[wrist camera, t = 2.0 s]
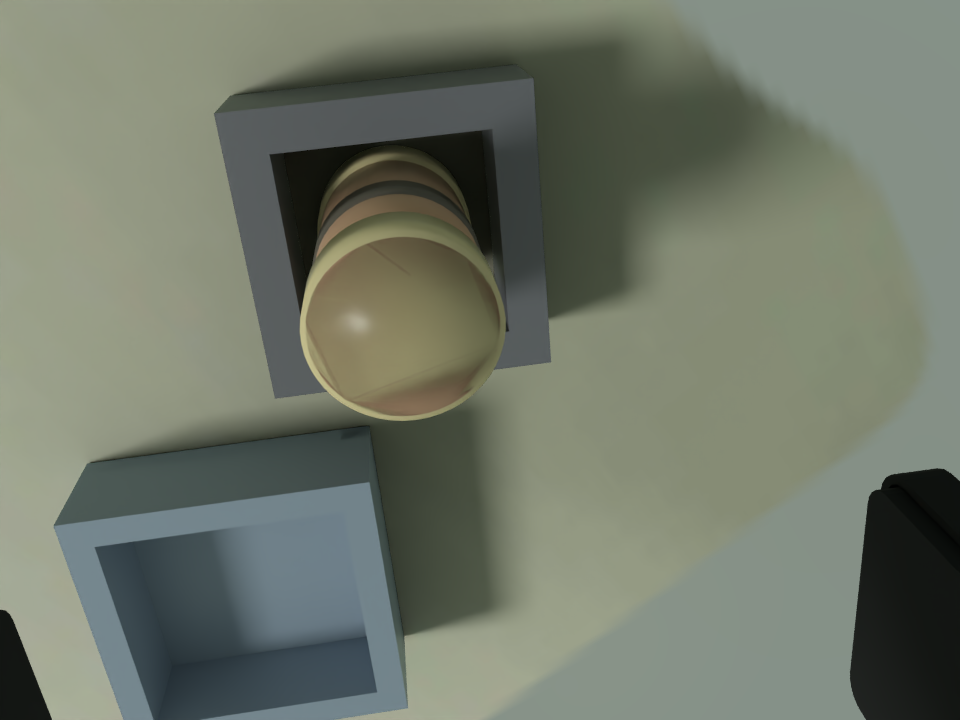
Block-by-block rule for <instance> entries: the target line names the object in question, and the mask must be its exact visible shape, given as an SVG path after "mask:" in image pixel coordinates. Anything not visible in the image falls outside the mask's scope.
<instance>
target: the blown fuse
mask: <svg viewBox="0 0 960 720" xmlns="http://www.w3.org/2000/svg"><path fill="white" fill-rule="evenodd" d="M317 235H318V237H317V241H316V246H315V252H314V258H313V264H312V268H311V270H310V273H309V276H308V279H307V283H306V288H305V294H304V299H303V305H302V311H301V316H300V337H301V345H302V348H303V352H304V356H305V358H306V360H307V363H308V365H309V367H310V369H311V371H312V372H313V374H314V376H315V377H316V379H317V380H318V381H319V383H320V384H321V385H322V386H323V387H324V388H325V389H326V390H327V391H328V392H329V393H330V394H331V395H332V396H333V397H334V398H336V399H337V400H338V401H340V402H341V403H342V404H344V405H346V406H348V407H349V408H351V409H353V410H355V411H357V412H360V413H362V414H365V415H368V416H371V417H375V418H379V419H385V420H395V421H408V420H418V419H424V418H429V417H432V416H435V415H438V414H441V413H444V412H446V411H448V410H450V409H453V408H454V407H456V406H458V405H459V404H461V403H463V402H464V401H465V400H467V399H468V398H469V397H471V396H472V395H473V394H474V393H475V392H476V391H477V390H478V389H479V388H480V387H481V386H482V385H483V384H484V383H485V381H486V380H487V379H488V378H489V376H490V375H491V373H492V371H493V370H494V368H495V366H496V364H497V362H498V360H499V357H500V355H501V352H502V348H503V345H504V340H505V332H506V317H505V311H504V305H503V302H502V298H501V295H500V292H499V290H498V287H497V284H496V282H495V279H494V276H493V274H492V271H491V269H490V267H489V264H488V262H487V260H486V258H485V257H484V255H483V254H482V252H481V249H480V246H479V243H478V241H477V238H476V235H475V232H474V230H473V228H472V226H471V221H470V215H469V212H468V208H467V205H466V202H465V200H464V197H463V195H462V192H461V190H460V188H459V185H458V183H457V182H456V180H455V178H454V177H453V175H452V174H451V173H450V172H449V171H448V169H447V168H446V167H445V166H444V165H443V164H441V163H440V162H439V161H438V160H436V159H435V158H434V157H432V156H431V155H429V154H427V153H425V152H423V151H420V150H417V149H415V148H411V147H407V146H400V145H384V146H378V147H373V148H370V149H367V150H364V151H362V152H360V153H358V154H356V155H354V156H353V157H351V158H350V159H348V160H347V161H346V162H345V163H343V164H342V165H341V166H340V167H339V168H338V169H337V171H336V172H335V173H334V174H333V176H332V177H331V179H330V180H329V182H328V184H327V186H326V188H325V190H324V193H323V197H322V200H321V206H320V211H319V217H318V223H317Z"/></svg>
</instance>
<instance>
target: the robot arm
mask: <svg viewBox="0 0 960 720" xmlns="http://www.w3.org/2000/svg"><path fill="white" fill-rule="evenodd" d="M850 681H851V688H852V692H853V695H854V698H855V700H856V703H857V705H858V707H859V709H860V711H861V712H862V714H863V715H864V717H865V719H866V720H960V481H959V480H958V479H957V478H956V477H954V476H953V475H952V474H951V473H949V472H948V471H946V470H945V469H938V468H937V469H930V470H922V471H915V472H908V473H900V474H893V475H890V476H888V477H886V478H885V480H884V482H883V483H882V487H881V490H875V491H873V492H872V493H871V495H870V496H869V501H868V506H867V516H866V525H865V535H864V545H863V554H862V564H861V573H860V583H859V592H858V602H857V611H856V622H855V631H854V640H853V650H852V659H851V670H850ZM0 720H52V718H51V716H50V713H49V711H48V708H47V706H46V703H45V700H44V698H43V695H42V693H41V690H40V688H39V685H38V683H37V680H36V678H35V675H34V672H33V670H32V667H31V665H30V662H29V660H28V657H27V655H26V652H25V649H24V647H23V644H22V642H21V639H20V637H19V634H18V632H17V629H16V626H15V624H14V621H13V619H12V618H11V616H10V614H9V613H8V612H7V611H5V610H0Z"/></svg>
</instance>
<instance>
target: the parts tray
mask: <svg viewBox="0 0 960 720" xmlns="http://www.w3.org/2000/svg"><path fill="white" fill-rule="evenodd" d="M54 529H55V532H56V534H57V537H58V540H59V543H60V545H61V548H62V551H63V554H64V557H65V559H66V562H67V565H68V568H69V570H70V573H71V576H72V579H73V581H74V584H75V587H76V590H77V592H78V595H79V598H80V601H81V603H82V606H83V609H84V612H85V615H86V617H87V620H88V623H89V626H90V628H91V631H92V634H93V637H94V639H95V642H96V645H97V648H98V650H99V653H100V656H101V659H102V661H103V664H104V667H105V670H106V673H107V675H108V678H109V681H110V684H111V686H112V689H113V692H114V695H115V697H116V700H117V703H118V706H119V708H120V711H121V714H122V717H123V719H124V720H335V719H341V718H347V717H354V716H360V715H367V714H373V713H380V712H386V711H392V710H399V709H405V708H408V700H407V681H406V662H405V643H404V633H403V627H402V621H401V615H400V609H399V603H398V597H397V591H396V585H395V579H394V573H393V567H392V561H391V554H390V548H389V542H388V536H387V530H386V524H385V518H384V512H383V506H382V500H381V494H380V488H379V482H378V476H377V470H376V464H375V458H374V452H373V446H372V440H371V433H370V427H369V426H363V427H356V428H348V429H341V430H333V431H326V432H319V433H311V434H304V435H296V436H289V437H281V438H274V439H267V440H259V441H252V442H244V443H237V444H230V445H222V446H215V447H207V448H200V449H192V450H185V451H178V452H170V453H163V454H155V455H148V456H140V457H133V458H126V459H118V460H111V461H103V462H96V463H88V464H87V465H86V467H85V469H84V470H83V472H82V474H81V476H80V478H79V480H78V482H77V483H76V485H75V487H74V489H73V491H72V493H71V495H70V496H69V498H68V500H67V502H66V504H65V506H64V508H63V509H62V511H61V513H60V515H59V517H58V519H57V520H56V522H55V524H54Z"/></svg>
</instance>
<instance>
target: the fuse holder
mask: <svg viewBox="0 0 960 720" xmlns="http://www.w3.org/2000/svg"><path fill="white" fill-rule="evenodd" d="M214 116H215V120H216V125H217V130H218V134H219V139H220V144H221V148H222V153H223V158H224V162H225V167H226V172H227V176H228V181H229V186H230V190H231V195H232V200H233V204H234V209H235V214H236V218H237V223H238V227H239V232H240V237H241V241H242V246H243V251H244V255H245V260H246V265H247V269H248V274H249V279H250V283H251V288H252V293H253V297H254V302H255V307H256V311H257V316H258V321H259V325H260V330H261V335H262V339H263V344H264V349H265V353H266V358H267V363H268V367H269V372H270V377H271V381H272V386H273V391H274V395H275V398H283V397H290V396H298V395H306V394H313V393H321V392H328V391H327V390H326V389H325V388H324V387H323V386H322V385H321V384H320V383H319V381H318V380H317V379H316V377H315V376H314V374H313V372H312V371H311V369H310V367H309V365H308V363H307V360H306V358H305V356H304V352H303V348H302V345H301V337H300V316H301V311H302V305H303V299H304V294H305V288H306V283H307V279H306V273H305V268H304V263H303V257H302V252H301V246H300V241H299V236H298V230H297V225H296V219H295V214H294V209H293V203H292V198H291V192H290V187H289V182H288V176H287V171H286V165H285V160H284V155H283V153H286V152H295V151H304V150H313V149H321V148H330V147H339V146H348V145H356V144H365V143H374V142H383V141H391V140H400V139H409V138H418V137H426V136H435V135H444V134H453V133H461V132H470V131H479V130H482V140H483V151H484V162H485V174H486V185H487V196H488V208H489V219H490V231H491V242H492V253H493V265H494V276H495V282H496V284H497V287H498V290H499V292H500V295H501V298H502V302H503V305H504V311H505V317H506V332H505V340H504V345H503V348H502V352H501V355H500V357H499V360H498V362H497V364H496V366H495V368H494V370H495V369H503V368H511V367H518V366H526V365H533V364H541V363H548V362H551V355H550V339H549V322H548V306H547V290H546V274H545V257H544V241H543V225H542V209H541V192H540V176H539V160H538V144H537V127H536V111H535V95H534V79H533V77H531V76H530V75H529V74H528V73H526V72H525V71H524V70H523V69H522V68H520V67H519V66H518V65H517V64H516V65H506V66H497V67H488V68H479V69H470V70H461V71H452V72H443V73H433V74H424V75H415V76H406V77H397V78H388V79H379V80H370V81H360V82H351V83H342V84H333V85H324V86H315V87H306V88H297V89H287V90H278V91H269V92H260V93H251V94H242V95H233V96H229V98H228V99H227V100H226V101H225V102H224V103H223V104H222V105H221V106H220V108H219V109H218V110H217V111H216V112H215V113H214Z"/></svg>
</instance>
